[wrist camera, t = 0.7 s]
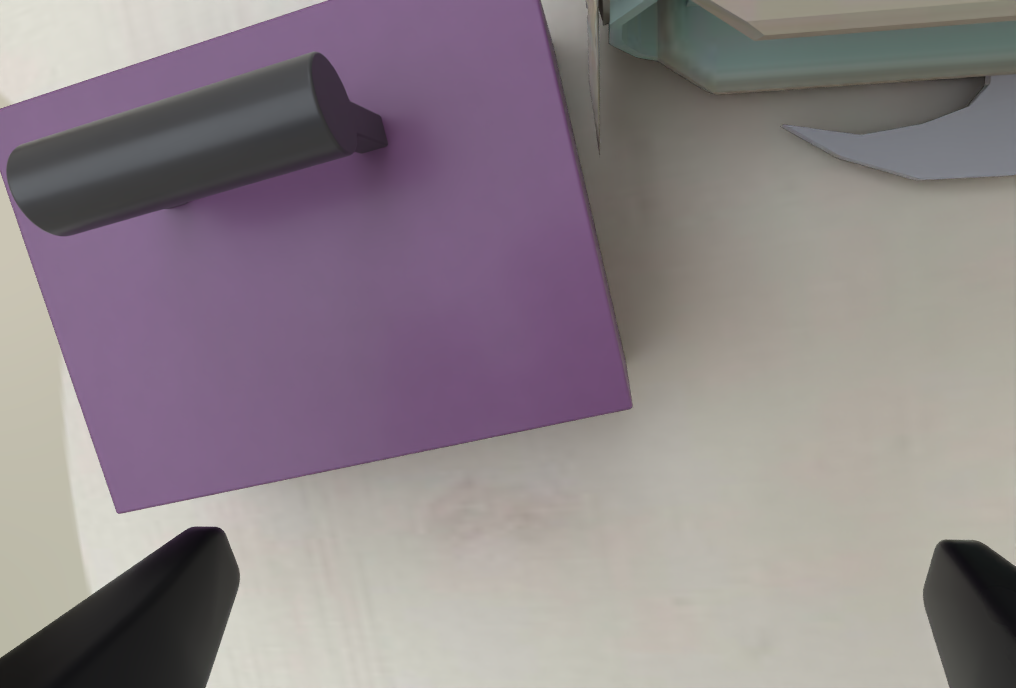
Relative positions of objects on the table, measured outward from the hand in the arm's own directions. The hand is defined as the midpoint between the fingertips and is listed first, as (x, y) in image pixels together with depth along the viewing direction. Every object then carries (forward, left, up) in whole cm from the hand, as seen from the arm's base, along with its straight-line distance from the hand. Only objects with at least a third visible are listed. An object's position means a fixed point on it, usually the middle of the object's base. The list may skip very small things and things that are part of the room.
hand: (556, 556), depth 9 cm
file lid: (+6, +5, -8) cm, 11 cm away
